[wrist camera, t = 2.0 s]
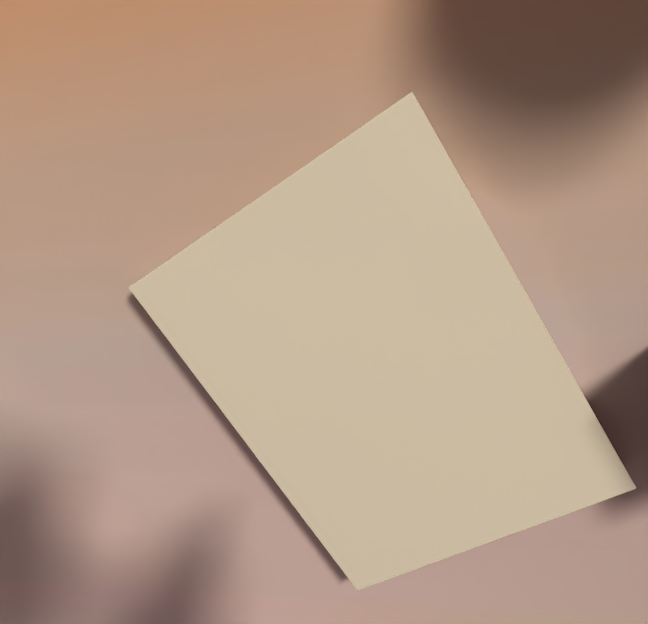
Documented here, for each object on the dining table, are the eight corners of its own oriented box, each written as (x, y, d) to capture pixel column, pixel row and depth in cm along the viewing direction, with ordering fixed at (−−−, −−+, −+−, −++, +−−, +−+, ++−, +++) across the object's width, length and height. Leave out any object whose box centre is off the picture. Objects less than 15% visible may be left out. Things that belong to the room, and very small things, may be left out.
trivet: (623, 468, 20) (636, 488, 19) (359, 568, 24) (357, 590, 22) (411, 93, 17) (412, 91, 15) (144, 278, 20) (128, 287, 19)
